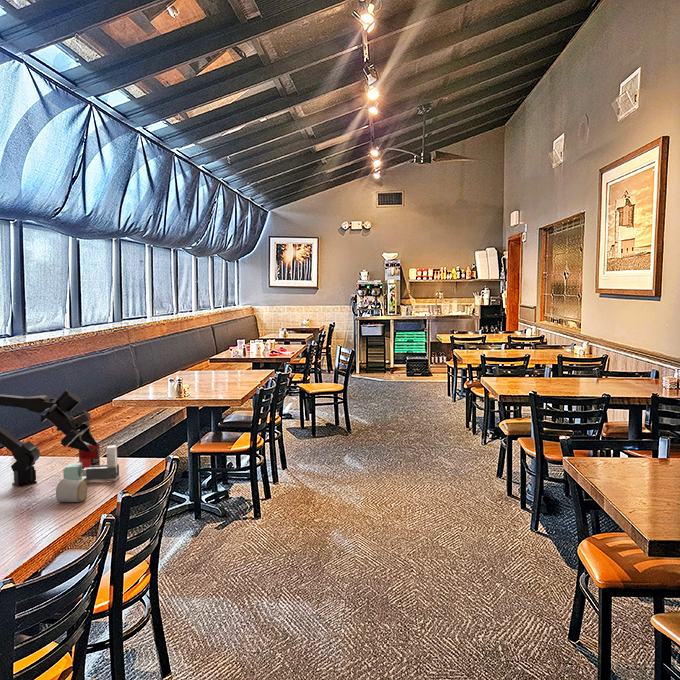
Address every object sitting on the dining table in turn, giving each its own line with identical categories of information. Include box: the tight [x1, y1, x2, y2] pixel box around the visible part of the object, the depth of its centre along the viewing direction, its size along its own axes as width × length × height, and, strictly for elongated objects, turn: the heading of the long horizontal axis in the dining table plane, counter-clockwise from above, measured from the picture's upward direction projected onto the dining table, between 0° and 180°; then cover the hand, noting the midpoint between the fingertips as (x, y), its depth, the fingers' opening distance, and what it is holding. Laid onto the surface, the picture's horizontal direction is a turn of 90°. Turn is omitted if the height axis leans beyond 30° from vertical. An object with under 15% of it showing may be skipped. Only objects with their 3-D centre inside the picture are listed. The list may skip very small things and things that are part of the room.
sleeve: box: [86, 463, 120, 480], centre depth 223 cm, size 11×5×4 cm, turn 98°
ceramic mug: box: [55, 478, 88, 503], centre depth 201 cm, size 11×8×8 cm
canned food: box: [78, 439, 101, 469], centre depth 239 cm, size 8×8×11 cm
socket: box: [62, 462, 83, 480], centre depth 221 cm, size 5×6×5 cm
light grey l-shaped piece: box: [82, 445, 118, 476], centre depth 222 cm, size 12×3×11 cm, turn 98°
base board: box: [79, 474, 120, 484], centre depth 222 cm, size 19×6×1 cm, turn 98°
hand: (93, 448), depth 222 cm, fingers open, 9 cm apart
